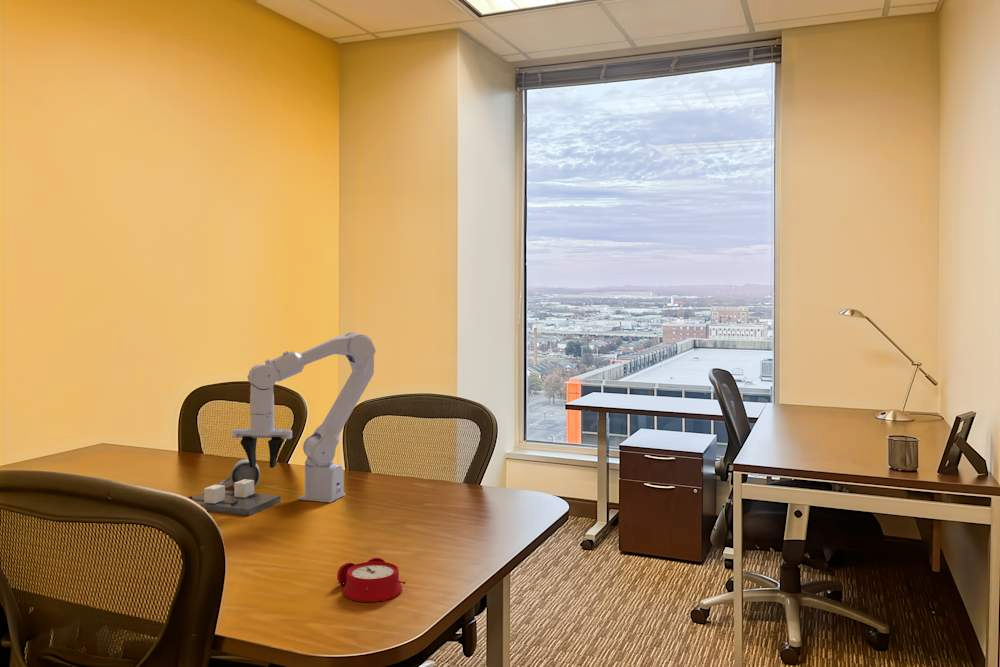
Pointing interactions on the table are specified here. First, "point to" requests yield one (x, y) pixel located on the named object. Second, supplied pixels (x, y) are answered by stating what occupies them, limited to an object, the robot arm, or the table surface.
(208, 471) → the table surface
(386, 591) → the alarm clock
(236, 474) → the ceramic mug
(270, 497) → the console
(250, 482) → the fader
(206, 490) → the block
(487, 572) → the table surface
